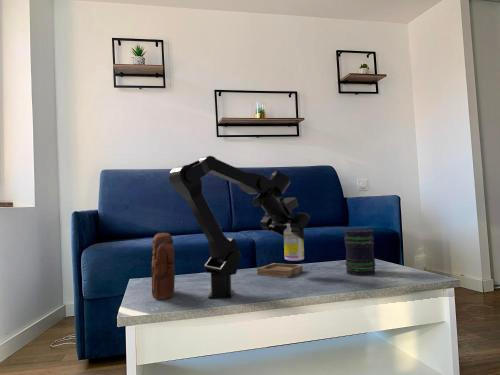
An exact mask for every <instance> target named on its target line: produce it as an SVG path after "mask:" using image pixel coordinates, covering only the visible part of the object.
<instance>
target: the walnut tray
mask: <svg viewBox="0 0 500 375" xmlns="http://www.w3.org/2000/svg"><path fill="white" fill-rule="evenodd" d="M256 270H257V274H256V275H258V276H265V277H266V276H268V277H275V278H276V277H277V278H285V279H287V278H290V277H293V276H295V275H297V274H299V273H301V272H303V265H302V264H293V263H292V264H290V263H280V262H279V263H278V262H277V263H276V262H273V263H270V264H267V265H264V266H260V267H258V268H257V269H256Z"/></svg>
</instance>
